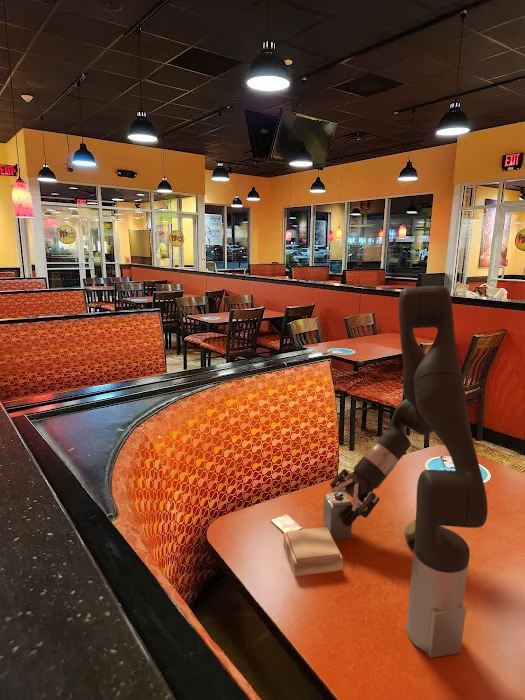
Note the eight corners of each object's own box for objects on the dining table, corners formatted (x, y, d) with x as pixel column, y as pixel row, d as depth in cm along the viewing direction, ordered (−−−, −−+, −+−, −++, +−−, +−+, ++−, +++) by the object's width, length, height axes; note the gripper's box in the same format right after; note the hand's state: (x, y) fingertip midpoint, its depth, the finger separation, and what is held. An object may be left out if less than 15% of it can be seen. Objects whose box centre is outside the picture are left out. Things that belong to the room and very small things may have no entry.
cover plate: (302, 531, 117) (302, 527, 117) (286, 537, 115) (286, 534, 114) (286, 517, 123) (286, 514, 123) (271, 523, 120) (271, 520, 120)
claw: (434, 561, 106) (435, 548, 105) (393, 542, 113) (394, 530, 112) (463, 525, 120) (465, 514, 120) (426, 510, 127) (427, 499, 126)
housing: (351, 537, 114) (353, 499, 111) (329, 540, 113) (331, 501, 110) (343, 524, 119) (345, 488, 117) (323, 527, 118) (324, 490, 116)
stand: (342, 570, 102) (343, 554, 101) (294, 576, 100) (295, 560, 99) (326, 539, 113) (327, 525, 112) (283, 544, 111) (283, 530, 110)
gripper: (352, 445, 121) (312, 493, 119) (385, 470, 108) (341, 523, 106) (367, 460, 124) (329, 507, 122) (401, 486, 111) (359, 538, 110)
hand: (335, 514), depth 114 cm, fingers open, 8 cm apart
